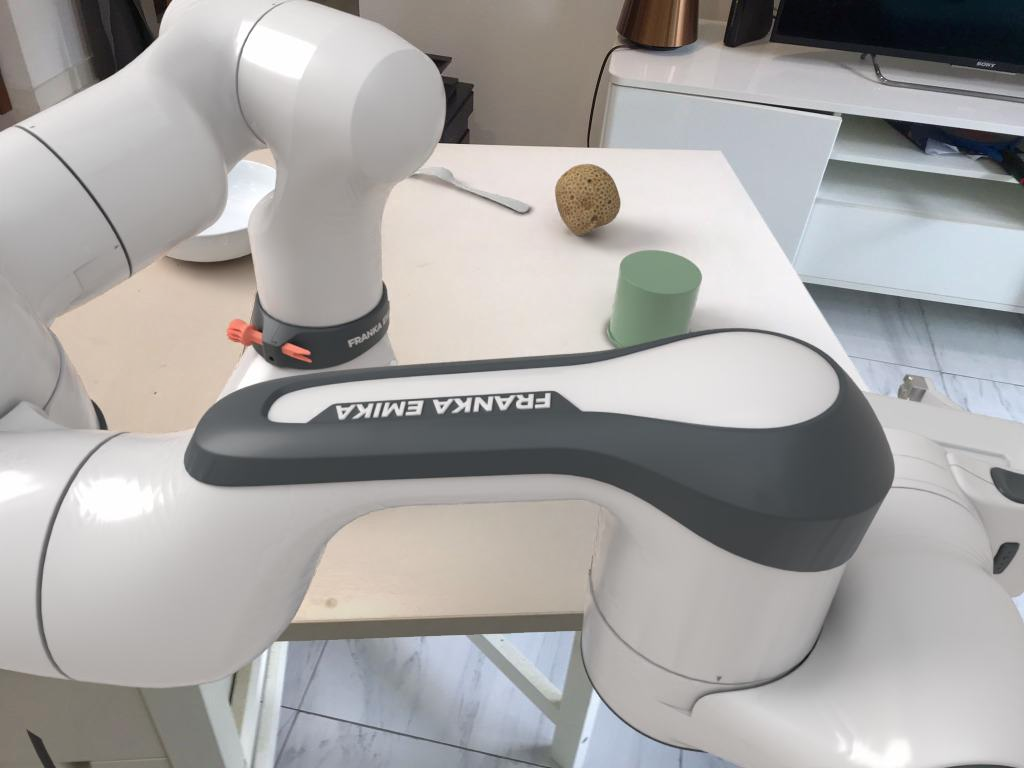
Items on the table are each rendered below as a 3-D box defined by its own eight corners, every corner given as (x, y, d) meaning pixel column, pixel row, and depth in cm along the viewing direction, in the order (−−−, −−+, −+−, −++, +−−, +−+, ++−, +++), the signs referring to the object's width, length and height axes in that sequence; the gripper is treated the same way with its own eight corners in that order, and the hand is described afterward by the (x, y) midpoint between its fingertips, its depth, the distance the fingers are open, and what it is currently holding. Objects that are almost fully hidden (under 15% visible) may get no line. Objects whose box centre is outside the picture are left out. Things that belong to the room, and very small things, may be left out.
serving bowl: (96, 263, 100) (80, 213, 96) (193, 192, 116) (184, 146, 111) (245, 297, 96) (236, 247, 92) (325, 219, 112) (321, 173, 108)
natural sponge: (602, 215, 118) (611, 150, 112) (625, 245, 112) (636, 178, 105) (543, 220, 116) (549, 154, 109) (563, 251, 109) (571, 183, 103)
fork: (519, 229, 118) (522, 212, 116) (403, 176, 124) (404, 160, 122) (528, 221, 120) (531, 205, 118) (414, 170, 126) (415, 154, 124)
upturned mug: (673, 370, 91) (690, 304, 85) (595, 344, 93) (605, 278, 88) (703, 317, 99) (719, 254, 93) (630, 294, 102) (641, 232, 96)
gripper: (655, 516, 43) (666, 377, 54) (1053, 603, 41) (978, 440, 52) (682, 424, 39) (687, 296, 51) (1119, 514, 37) (1023, 360, 49)
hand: (837, 369), depth 51 cm, fingers open, 8 cm apart
